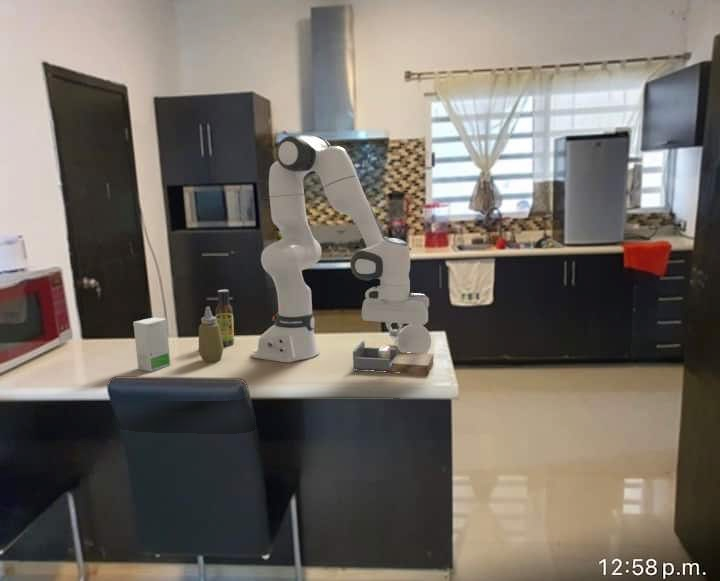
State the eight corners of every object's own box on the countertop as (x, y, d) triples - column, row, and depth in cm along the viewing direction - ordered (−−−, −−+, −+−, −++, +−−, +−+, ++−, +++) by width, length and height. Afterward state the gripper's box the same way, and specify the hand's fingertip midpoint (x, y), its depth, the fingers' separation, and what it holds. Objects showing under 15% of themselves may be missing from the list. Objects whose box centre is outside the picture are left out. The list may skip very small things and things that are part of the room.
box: (353, 370, 173) (352, 351, 172) (362, 358, 183) (362, 341, 182) (391, 372, 170) (391, 353, 169) (398, 361, 180) (398, 343, 179)
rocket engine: (392, 315, 199) (410, 316, 182) (417, 334, 202) (437, 336, 184) (374, 342, 197) (391, 346, 180) (399, 361, 200) (418, 366, 182)
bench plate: (391, 372, 170) (391, 363, 169) (398, 361, 180) (398, 352, 180) (428, 375, 167) (428, 365, 166) (433, 363, 177) (433, 354, 177)
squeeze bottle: (229, 357, 189) (225, 305, 185) (213, 365, 181) (209, 310, 178) (210, 354, 192) (206, 303, 188) (194, 362, 185) (189, 308, 181)
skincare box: (150, 372, 176) (145, 324, 173) (136, 369, 179) (131, 322, 176) (171, 364, 183) (167, 318, 180) (158, 361, 186) (153, 316, 183)
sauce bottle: (216, 347, 200) (211, 292, 196) (217, 342, 206) (213, 289, 202) (234, 346, 201) (230, 291, 197) (235, 341, 207) (231, 288, 203)
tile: (386, 366, 173) (378, 366, 174) (390, 361, 178) (382, 360, 178) (386, 350, 172) (378, 350, 173) (389, 346, 177) (382, 345, 177)
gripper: (430, 292, 171) (429, 335, 173) (365, 288, 176) (365, 330, 179) (427, 296, 165) (426, 341, 168) (360, 292, 170) (360, 336, 173)
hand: (394, 336), depth 173 cm, fingers closed
